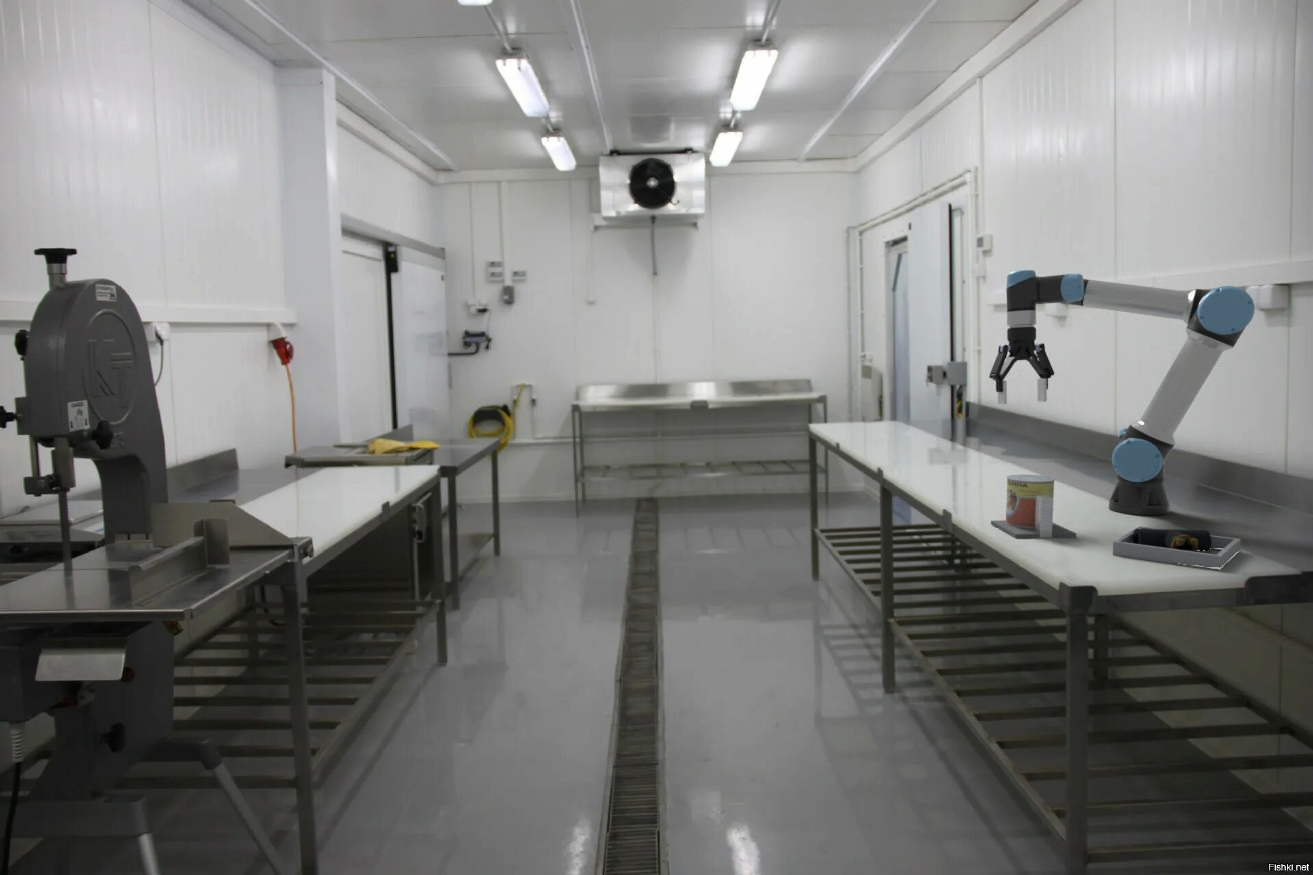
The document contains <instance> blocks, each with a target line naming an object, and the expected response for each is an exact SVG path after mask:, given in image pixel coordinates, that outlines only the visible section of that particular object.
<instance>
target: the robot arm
mask: <svg viewBox="0 0 1313 875" xmlns="http://www.w3.org/2000/svg"><path fill="white" fill-rule="evenodd" d="M1005 292H1006V317H1007V318H1006V326H1007V327H1009V328H1007V329H1006V330H1007V331H1006V333H1007V334H1006V335H1007V336H1006V338H1007V341H1008V344H1000V345H998V349H997V350H998V351H997V356H996V357H995V360H994V363H993V365H992V368H991V370H990V373H989V376H988V378H989V379H992V381H995V391H996V393H997V404H998V405H1008V395H1007V391H1008V390H1007V388H1008V387H1007V385H1008V384H1007V383H1008V382H1007V380H1005V378H1006V377H1007V375H1008V374H1009V372H1010V371H1011V369H1012V368H1013V367H1014V364H1015V363H1016V362H1018V361H1027V362H1029V364H1030V365H1031V367H1032V368H1033V370H1034V371H1035V373H1036V374H1037V375H1038V377H1039V378H1037V382H1036V383H1037V402H1038V403H1039V402H1041V403H1042V402H1043V403H1044V402H1047V401H1048V396H1047V393H1048V392H1047V390H1048V389H1049V379H1050V378H1052V376H1054V375H1055V371H1054V369H1053V367H1052V364H1051V362H1050V360H1049V357H1048V355H1047V352H1046V346H1045V343H1035V341H1036V340H1037V328H1036V327H1035V325H1037V308H1036V307H1037V306H1036V305H1043V304H1044V305H1045V304H1062V305H1070V306H1079V307H1087V308H1093V309H1100V310H1108V311H1116V312H1123V313H1130V314H1137V315H1143V316H1145V315H1146V316H1151V317H1159V318H1164V319H1166V318H1167V319H1172V320H1178V321H1179V320H1180V321H1183V322H1184V323H1185V324H1186V325H1187V326H1186V327H1185V332H1186V334H1187V338H1186V340H1185V342H1184V344H1183V345H1182V347H1181V349H1180V350H1179V352H1178V354H1177V356H1175V360H1174V361H1173V363H1172V364H1171V366H1170V368H1169V369H1168V371H1167V372H1166V375H1165V376H1164V378H1163V380H1162V381H1161V383H1160V385H1159V387H1158V388H1157V390H1156V391H1155V393H1154V395H1153V397H1152V399H1151V401H1150V402H1149V404H1148V405H1147V408H1146V409H1145V410H1144V412H1143V413H1142V415H1141V417H1140V419H1139V420H1137V421H1133V422H1130V424H1129V426H1128V427H1124V428H1121V429H1120V431H1119V434H1118V444H1117V445H1116V446H1115V447H1114V449H1113V451H1112V454H1111V463H1112V466H1113V469H1114V471H1115V472H1116V473H1117V474H1116V483H1115V485H1114V488H1113V490H1112V493H1111V495H1110V497H1109V499H1108V509H1109V510H1111V511H1114V512H1118V513H1123V514H1129V515H1130V514H1131V515H1139V516H1157V515H1158V516H1161V515H1167V514H1170V511H1171V509H1170V508H1171V504H1170V500H1169V497H1168V494H1167V490H1166V487H1165V472H1166V471H1165V470H1166V468H1165V467H1166V460H1167V458H1168V456H1169V454H1170V453H1171V452H1172V450H1173V448H1174V446H1175V445H1176V441H1175V439H1174V434H1175V432H1176V431H1177V429H1178V427H1179V426H1180V424H1181V423H1182V421H1183V419H1184V417H1185V415H1186V414H1187V413H1188V411H1189V409H1190V407H1191V406H1192V404H1193V402H1194V401H1195V399H1196V397H1197V395H1198V394H1199V392H1200V391H1201V389H1202V387H1203V385H1204V384H1205V382H1206V380H1207V379H1208V378H1209V376H1210V375H1211V372H1212V370H1214V367H1215V366H1216V364H1217V362H1218V361H1219V359H1220V357H1221V356H1222V354H1223V353H1224V352H1226V351H1227V350H1232V349H1234V347H1235V345H1236V344H1237V343H1238V340H1239V339H1240V337H1241V335H1242V334H1243V333H1244V331H1245V329H1246V327H1247V326H1249V324H1250V323H1251V321H1252V320H1253V318H1254V315H1255V303H1254V300H1253V298H1252V296H1251V295H1250V293H1248V292H1247V291H1246V290H1244V289H1242V288H1240V287H1235V286H1231V285H1225V286H1220V287H1219V286H1218V287H1216V288H1213V289H1201V288H1194V289H1193V290H1191V291H1186V290H1176V289H1169V288H1168V289H1167V288H1161V287H1153V286H1152V287H1151V286H1144V285H1136V284H1128V283H1121V282H1120V283H1119V282H1110V281H1103V280H1095V279H1088V278H1087V279H1086V278H1084V276H1083V274H1081V273H1067V274H1057V275H1047V276H1037V275H1036V271H1035V270H1033V269H1024V270H1014V271H1010V272H1009V273H1008V274H1007V275H1006V288H1005Z"/></svg>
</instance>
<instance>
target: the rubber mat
mask: <svg viewBox="0 0 1313 875" xmlns="http://www.w3.org/2000/svg"><path fill="white" fill-rule="evenodd" d="M1005 521H1006V519H1005V520H1003V519H1002V520H990V525H991V524H992V525H991V526H993V527H995V528H997V529H998V528H999V529H998V530H1000V531H1002V530H1003V531H1002V532H1003V533H1005V534H1007V533H1008V534H1007V535H1009V536H1011V537H1012V536H1013V537H1012V538H1014V537H1015V538H1014V539H1039V538H1040V534H1039V533H1037V532H1035V529H1028V528H1019V527H1014V526H1010V525H1007V524H1006V523H1005ZM1052 524H1053V526H1052V538H1053V539H1054V538H1058V539H1060V538H1067V539H1068V538H1077V533H1076V532H1074V531H1072V530H1070V529H1068V528H1066V527H1064V526H1061V525H1059V524H1058V523H1055V522H1054V521H1052ZM1040 539H1041V538H1040Z"/></svg>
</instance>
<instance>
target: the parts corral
mask: <svg viewBox="0 0 1313 875" xmlns="http://www.w3.org/2000/svg"><path fill="white" fill-rule="evenodd" d="M1135 529H1157V528H1154V527H1146V526H1138V527H1136V528H1133V530H1131V531H1129V532H1127V533H1125V534H1124V535H1123V536H1121V537H1119V538H1117V539H1116V540H1114V541H1113V544H1112V555H1114V556H1119V557H1125V556H1126V557H1127V558H1133V559H1140V560H1146V561H1152V562H1153V561H1154V562H1159V561H1161V562H1160V563H1166V562H1168V564H1173V563H1180V564H1186V565H1185V566H1187V565H1199V566H1204V567H1219V568H1220V567H1222V565H1224V564H1225V563H1226V562H1227V561H1228V560H1229V559H1230V558H1231V557H1232V556H1233V555H1234V554H1235V553H1236V552H1238V551H1239V550H1240V551H1241V538H1236V537H1227V536H1219V535H1211V534H1210V536H1211V548H1222V549H1223V548H1224V549H1223V550H1219V552H1218V553H1217V554H1215V553H1214V554H1213V553H1208V552H1201V551H1197V552H1192V551H1185V550H1177V549H1170V548H1163V547H1155V546H1148V545H1141V544H1133V532H1134V530H1135ZM1180 564H1179V565H1180Z"/></svg>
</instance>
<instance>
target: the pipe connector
mask: <svg viewBox="0 0 1313 875" xmlns="http://www.w3.org/2000/svg"><path fill="white" fill-rule="evenodd" d="M1134 529H1135V530H1134ZM1134 529H1133V530H1134V532H1133V544H1141V545H1148V546H1155V547H1163V548H1170V549H1177V550H1185V551H1192V552H1198V551H1197V550H1200V551H1199V552H1201V551H1203V550H1205V551H1208V550H1209V551H1211V549H1210V548H1211V536H1210V535H1211V534H1210V532H1209V530H1207V529H1168V528H1167V529H1164V528H1156V529H1136V528H1134ZM1209 551H1208V552H1209Z"/></svg>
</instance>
